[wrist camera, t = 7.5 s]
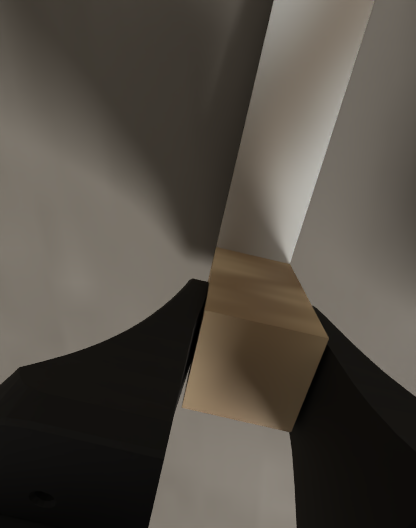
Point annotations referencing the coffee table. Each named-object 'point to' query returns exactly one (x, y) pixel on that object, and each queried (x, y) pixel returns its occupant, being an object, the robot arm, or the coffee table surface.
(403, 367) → the coffee table surface
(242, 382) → the turner
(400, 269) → the coffee table surface
